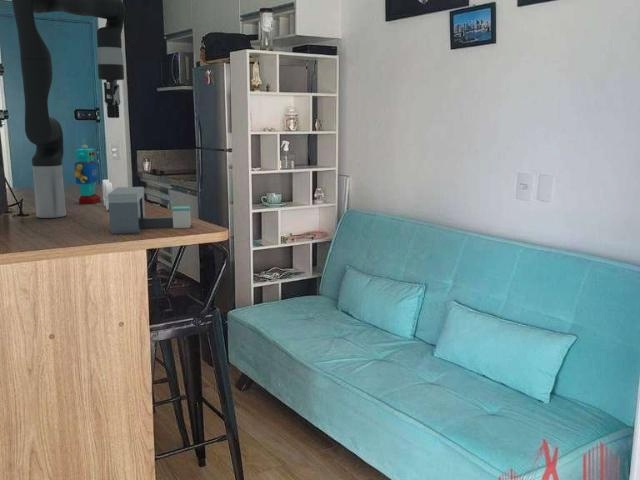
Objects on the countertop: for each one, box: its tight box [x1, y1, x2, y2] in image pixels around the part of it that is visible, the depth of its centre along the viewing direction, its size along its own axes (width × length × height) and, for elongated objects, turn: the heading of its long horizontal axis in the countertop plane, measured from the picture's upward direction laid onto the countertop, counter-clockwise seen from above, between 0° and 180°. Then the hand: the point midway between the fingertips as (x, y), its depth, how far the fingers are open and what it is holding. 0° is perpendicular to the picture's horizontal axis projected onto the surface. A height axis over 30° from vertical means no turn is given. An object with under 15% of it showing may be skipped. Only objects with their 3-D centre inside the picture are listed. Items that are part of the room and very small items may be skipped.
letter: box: [101, 179, 114, 212], centre depth 236 cm, size 22×2×10 cm, turn 22°
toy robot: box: [74, 138, 102, 205], centre depth 249 cm, size 12×6×25 cm, turn 179°
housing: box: [108, 186, 146, 235], centre depth 193 cm, size 18×8×12 cm, turn 9°
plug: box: [141, 205, 192, 230], centre depth 195 cm, size 4×21×6 cm, turn 99°
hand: (113, 117), depth 197 cm, fingers open, 8 cm apart
